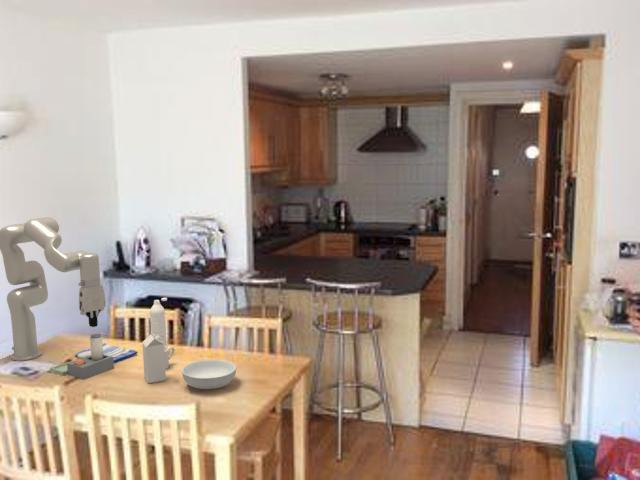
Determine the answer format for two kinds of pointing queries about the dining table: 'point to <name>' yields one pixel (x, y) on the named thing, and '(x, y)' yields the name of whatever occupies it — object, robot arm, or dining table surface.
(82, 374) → the housing
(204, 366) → the serving bowl
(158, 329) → the water bottle
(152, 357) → the milk carton
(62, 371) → the tray
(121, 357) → the dish towel
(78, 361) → the plunger
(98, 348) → the cylinder
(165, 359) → the mug
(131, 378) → the dining table surface
